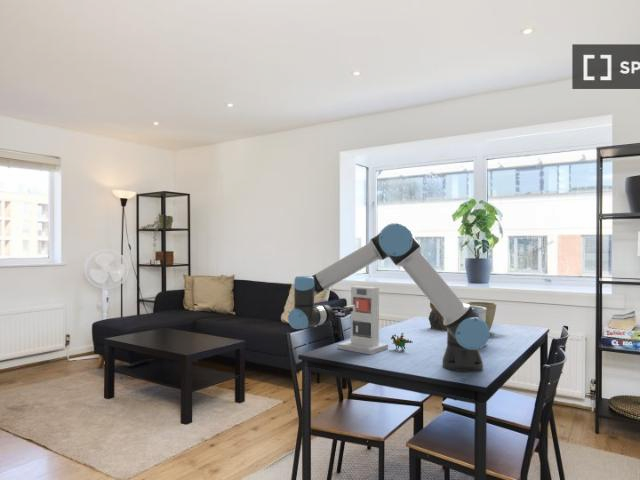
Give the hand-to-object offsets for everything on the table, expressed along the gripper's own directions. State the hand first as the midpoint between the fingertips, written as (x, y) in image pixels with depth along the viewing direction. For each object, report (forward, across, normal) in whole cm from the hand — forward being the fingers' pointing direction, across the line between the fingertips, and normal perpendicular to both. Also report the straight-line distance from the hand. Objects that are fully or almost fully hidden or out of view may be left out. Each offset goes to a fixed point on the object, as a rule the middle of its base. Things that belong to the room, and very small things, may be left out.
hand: (354, 308), depth 197 cm
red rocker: (+10, -3, -2) cm, 11 cm away
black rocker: (+10, -2, -13) cm, 17 cm away
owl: (+83, +5, -20) cm, 85 cm away
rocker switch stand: (+10, -3, -20) cm, 22 cm away
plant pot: (+86, +26, -20) cm, 92 cm away
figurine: (+19, +13, -20) cm, 30 cm away
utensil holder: (+54, +31, -20) cm, 66 cm away
